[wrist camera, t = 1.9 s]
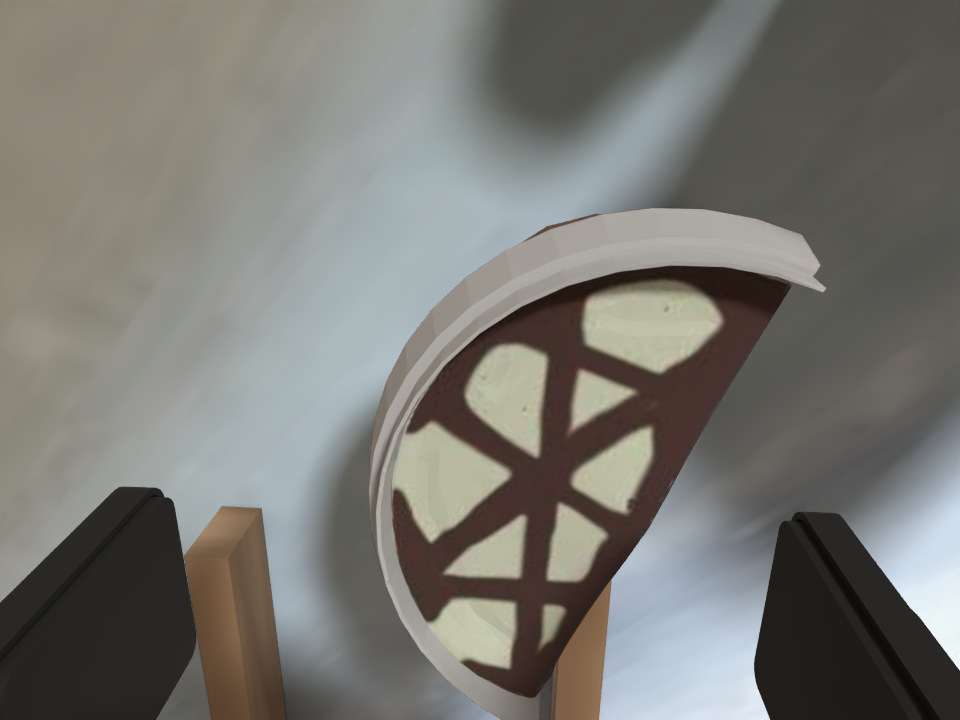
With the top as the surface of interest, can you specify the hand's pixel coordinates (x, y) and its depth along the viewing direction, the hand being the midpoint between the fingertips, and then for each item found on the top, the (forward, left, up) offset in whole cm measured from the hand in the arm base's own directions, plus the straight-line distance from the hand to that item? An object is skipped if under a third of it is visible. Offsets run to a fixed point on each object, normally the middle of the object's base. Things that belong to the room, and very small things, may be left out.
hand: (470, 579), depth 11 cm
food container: (-1, 0, -13) cm, 13 cm away
